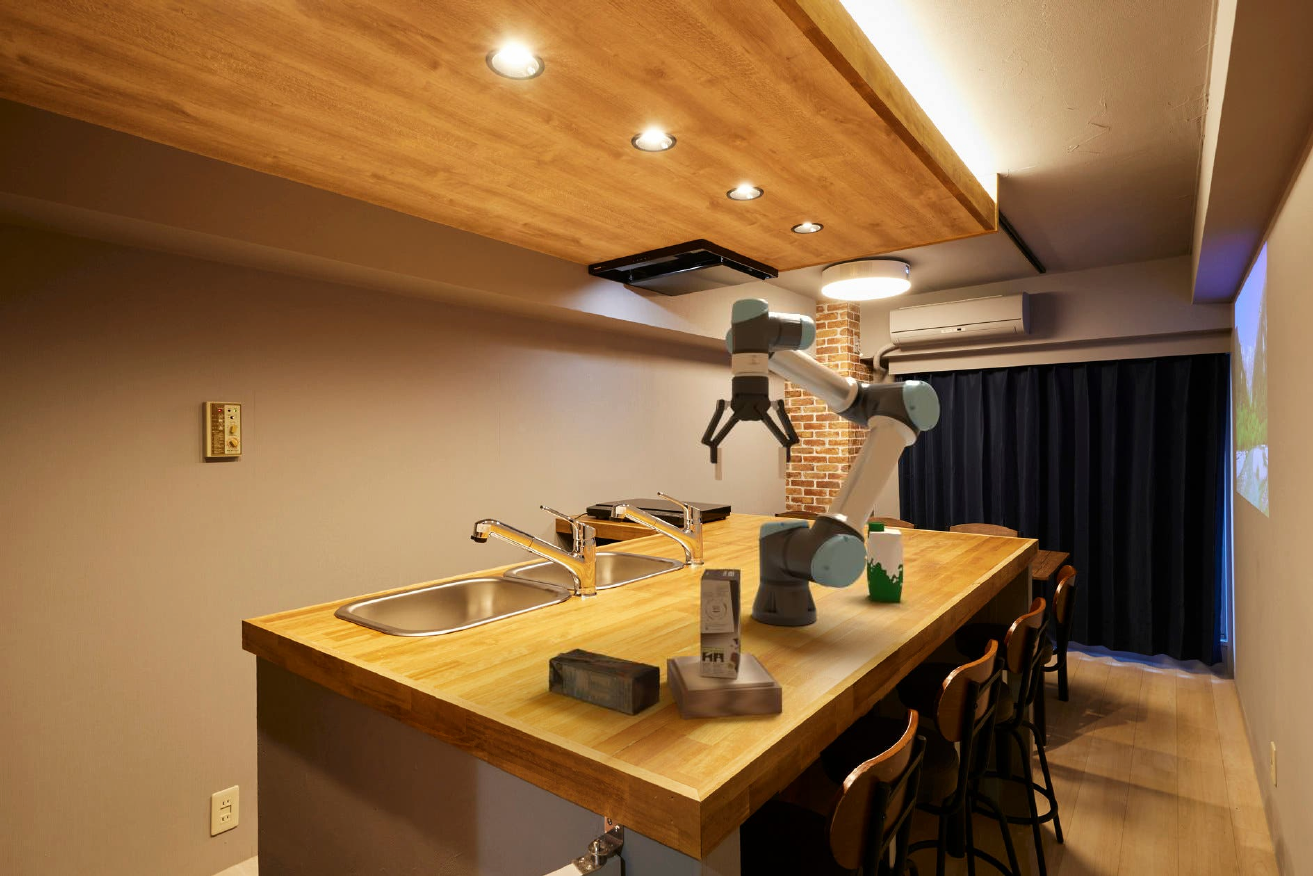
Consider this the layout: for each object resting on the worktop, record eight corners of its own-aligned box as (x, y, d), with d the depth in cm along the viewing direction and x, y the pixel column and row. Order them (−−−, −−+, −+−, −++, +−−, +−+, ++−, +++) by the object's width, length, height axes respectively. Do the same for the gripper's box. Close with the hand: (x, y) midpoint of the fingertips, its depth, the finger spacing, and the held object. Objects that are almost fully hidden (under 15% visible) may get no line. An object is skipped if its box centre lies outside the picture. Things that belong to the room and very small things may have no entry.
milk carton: (865, 593, 184) (865, 520, 184) (900, 595, 182) (901, 521, 182) (868, 601, 176) (868, 524, 175) (904, 603, 173) (905, 526, 173)
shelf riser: (753, 676, 123) (753, 651, 123) (782, 712, 107) (782, 683, 107) (666, 681, 121) (666, 655, 121) (682, 719, 105) (682, 689, 105)
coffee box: (739, 679, 109) (738, 580, 109) (699, 677, 110) (699, 578, 110) (742, 660, 118) (741, 568, 118) (705, 658, 119) (705, 567, 119)
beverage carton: (577, 678, 123) (577, 643, 123) (662, 702, 112) (663, 663, 112) (547, 692, 117) (547, 655, 117) (634, 719, 106) (634, 678, 106)
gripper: (694, 374, 133) (694, 481, 134) (815, 374, 137) (815, 479, 137) (686, 376, 141) (687, 478, 141) (801, 377, 144) (802, 476, 145)
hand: (750, 479), depth 139 cm, fingers open, 13 cm apart
